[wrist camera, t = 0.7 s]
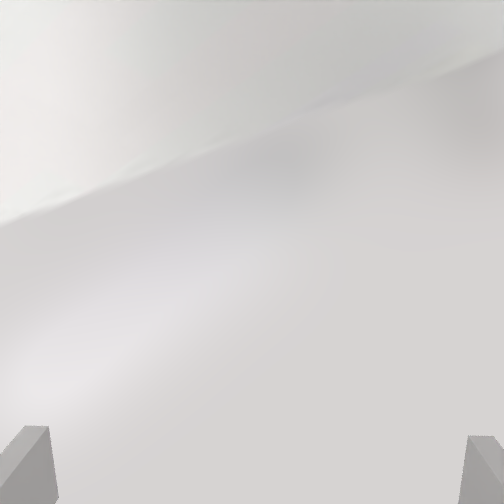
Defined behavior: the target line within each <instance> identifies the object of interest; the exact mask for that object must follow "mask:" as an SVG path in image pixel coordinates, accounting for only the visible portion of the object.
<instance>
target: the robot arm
mask: <svg viewBox="0 0 504 504" xmlns="http://www.w3.org/2000/svg"><path fill="white" fill-rule="evenodd" d="M58 498H59V496H58V489H57V482H56V475H55V468H54V461H53V454H52V447H51V440H50V433H49V426H25V427H23V429H22V430H21V431H20V432H19V433H18V434H17V436H16V437H15V438H14V439H13V440H12V441H11V442H10V444H9V445H8V446H7V447H6V448H5V449H4V450H3V452H2V453H1V454H0V504H55V503H56V501H57V500H58ZM458 504H504V449H503V448H502V447H501V445H500V444H499V443H498V441H497V440H496V439H495V437H494V436H468V440H467V447H466V453H465V460H464V468H463V475H462V481H461V488H460V496H459V503H458Z"/></svg>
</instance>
